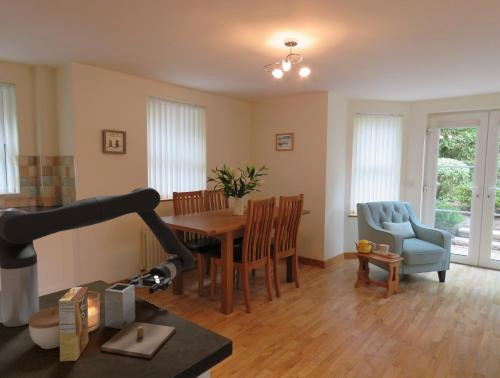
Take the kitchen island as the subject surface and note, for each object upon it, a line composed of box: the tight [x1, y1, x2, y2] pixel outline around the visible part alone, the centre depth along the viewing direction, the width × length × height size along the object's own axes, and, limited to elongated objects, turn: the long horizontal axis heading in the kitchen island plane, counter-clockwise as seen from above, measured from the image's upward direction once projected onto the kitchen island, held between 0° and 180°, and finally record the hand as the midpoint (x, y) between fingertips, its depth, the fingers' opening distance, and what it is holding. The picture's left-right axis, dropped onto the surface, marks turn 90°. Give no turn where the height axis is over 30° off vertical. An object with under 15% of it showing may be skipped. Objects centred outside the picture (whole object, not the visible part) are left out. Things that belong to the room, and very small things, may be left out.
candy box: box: [58, 286, 89, 363], centre depth 84 cm, size 9×4×15 cm, turn 9°
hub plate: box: [100, 321, 177, 359], centre depth 90 cm, size 14×14×4 cm
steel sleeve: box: [104, 282, 136, 330], centre depth 99 cm, size 6×6×11 cm
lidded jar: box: [27, 305, 60, 350], centre depth 88 cm, size 11×11×9 cm
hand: (138, 289), depth 109 cm, fingers open, 8 cm apart
